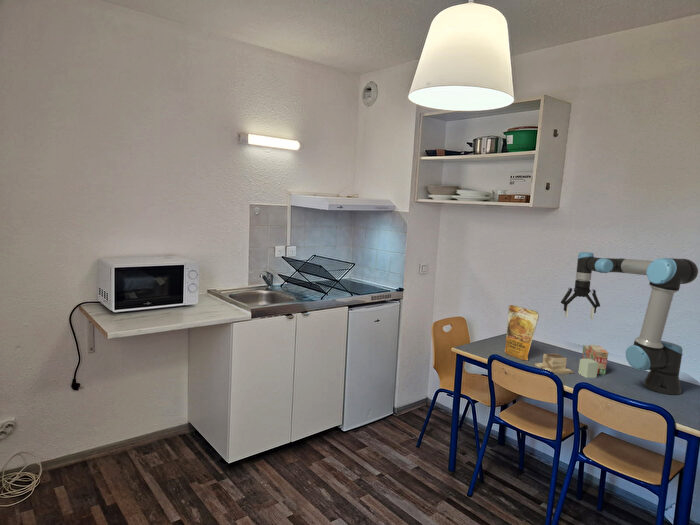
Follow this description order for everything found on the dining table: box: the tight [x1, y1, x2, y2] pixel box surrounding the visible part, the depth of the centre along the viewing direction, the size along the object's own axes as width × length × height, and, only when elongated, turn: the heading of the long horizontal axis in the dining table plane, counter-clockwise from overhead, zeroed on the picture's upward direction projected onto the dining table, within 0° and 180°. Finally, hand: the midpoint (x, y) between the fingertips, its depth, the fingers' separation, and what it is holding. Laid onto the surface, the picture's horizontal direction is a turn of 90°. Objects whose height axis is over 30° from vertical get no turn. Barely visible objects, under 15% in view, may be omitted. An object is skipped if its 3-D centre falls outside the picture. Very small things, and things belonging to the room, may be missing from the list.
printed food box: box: [581, 344, 609, 376], centre depth 259 cm, size 21×6×12 cm, turn 169°
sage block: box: [577, 358, 598, 379], centre depth 245 cm, size 6×6×8 cm
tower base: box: [534, 353, 574, 375], centre depth 251 cm, size 14×13×7 cm
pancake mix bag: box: [504, 304, 540, 361], centre depth 270 cm, size 7×19×28 cm, turn 31°
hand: (578, 317), depth 266 cm, fingers open, 13 cm apart
